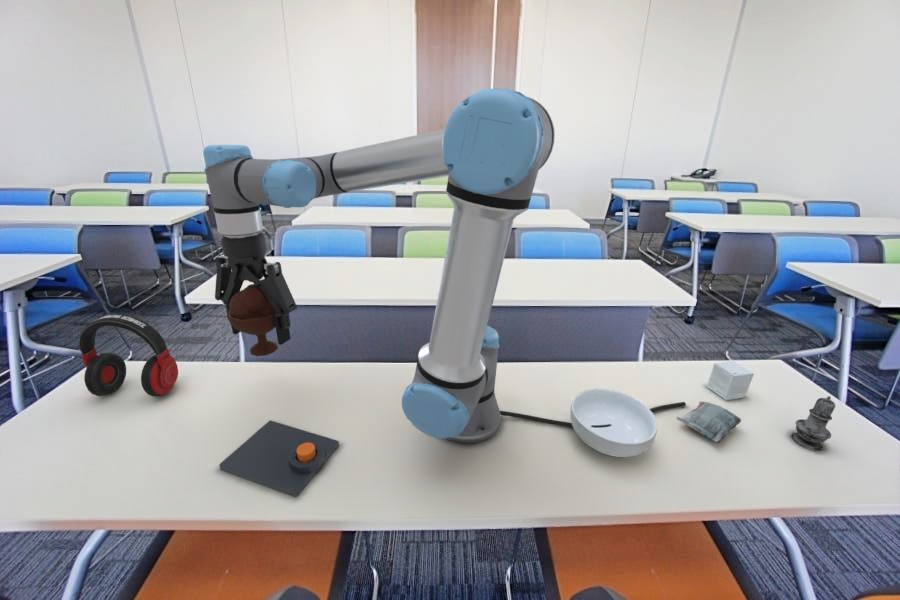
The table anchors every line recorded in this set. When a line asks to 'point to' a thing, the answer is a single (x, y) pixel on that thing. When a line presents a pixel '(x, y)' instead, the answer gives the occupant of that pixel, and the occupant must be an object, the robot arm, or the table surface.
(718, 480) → the table surface
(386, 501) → the table surface
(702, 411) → the packaged food
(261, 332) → the ice cream bowl
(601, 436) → the cereal bowl
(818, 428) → the grey chess piece
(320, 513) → the table surface
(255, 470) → the scale
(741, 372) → the product box
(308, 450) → the button
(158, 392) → the headphones
